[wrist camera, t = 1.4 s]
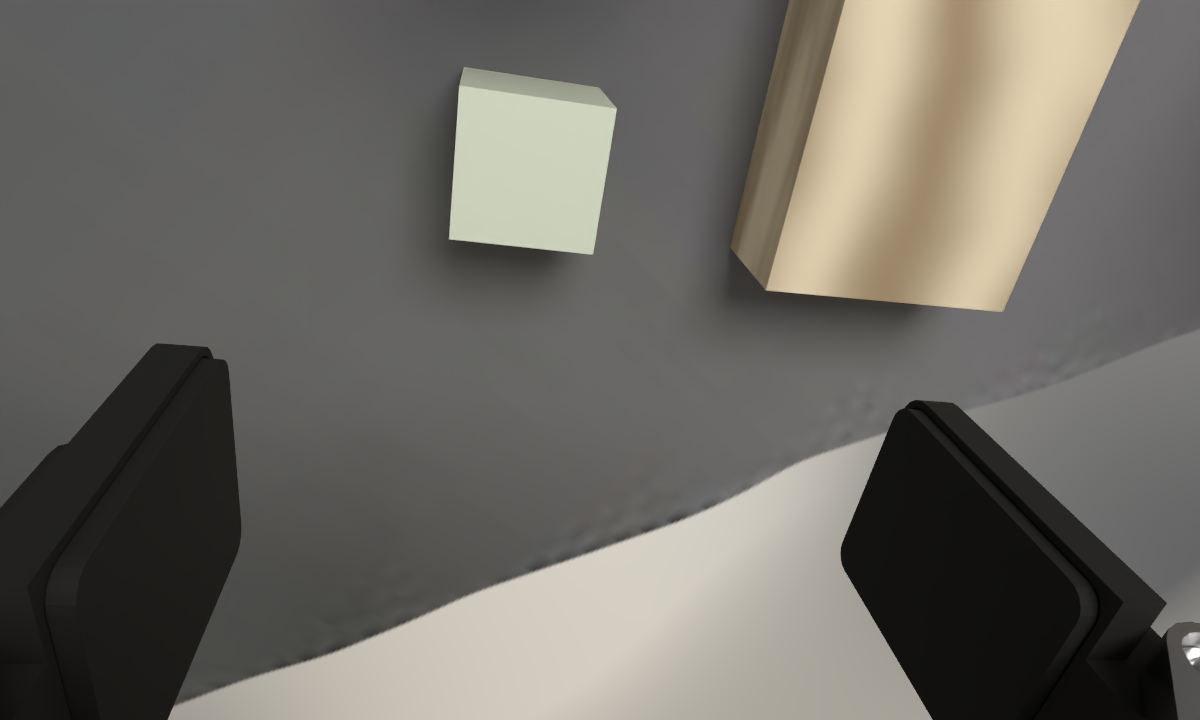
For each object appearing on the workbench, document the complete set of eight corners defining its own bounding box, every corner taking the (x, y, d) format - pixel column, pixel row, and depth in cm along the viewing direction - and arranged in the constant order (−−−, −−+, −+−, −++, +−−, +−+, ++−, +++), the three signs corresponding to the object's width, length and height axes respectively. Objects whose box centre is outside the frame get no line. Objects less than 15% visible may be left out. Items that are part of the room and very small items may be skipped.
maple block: (1071, -91, 27) (1184, -101, 22) (935, 265, 33) (1002, 312, 29) (820, -144, 25) (890, -166, 21) (727, 244, 31) (765, 290, 27)
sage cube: (598, 87, 27) (616, 108, 23) (579, 215, 30) (592, 254, 26) (464, 66, 26) (459, 85, 23) (454, 201, 29) (449, 239, 25)
